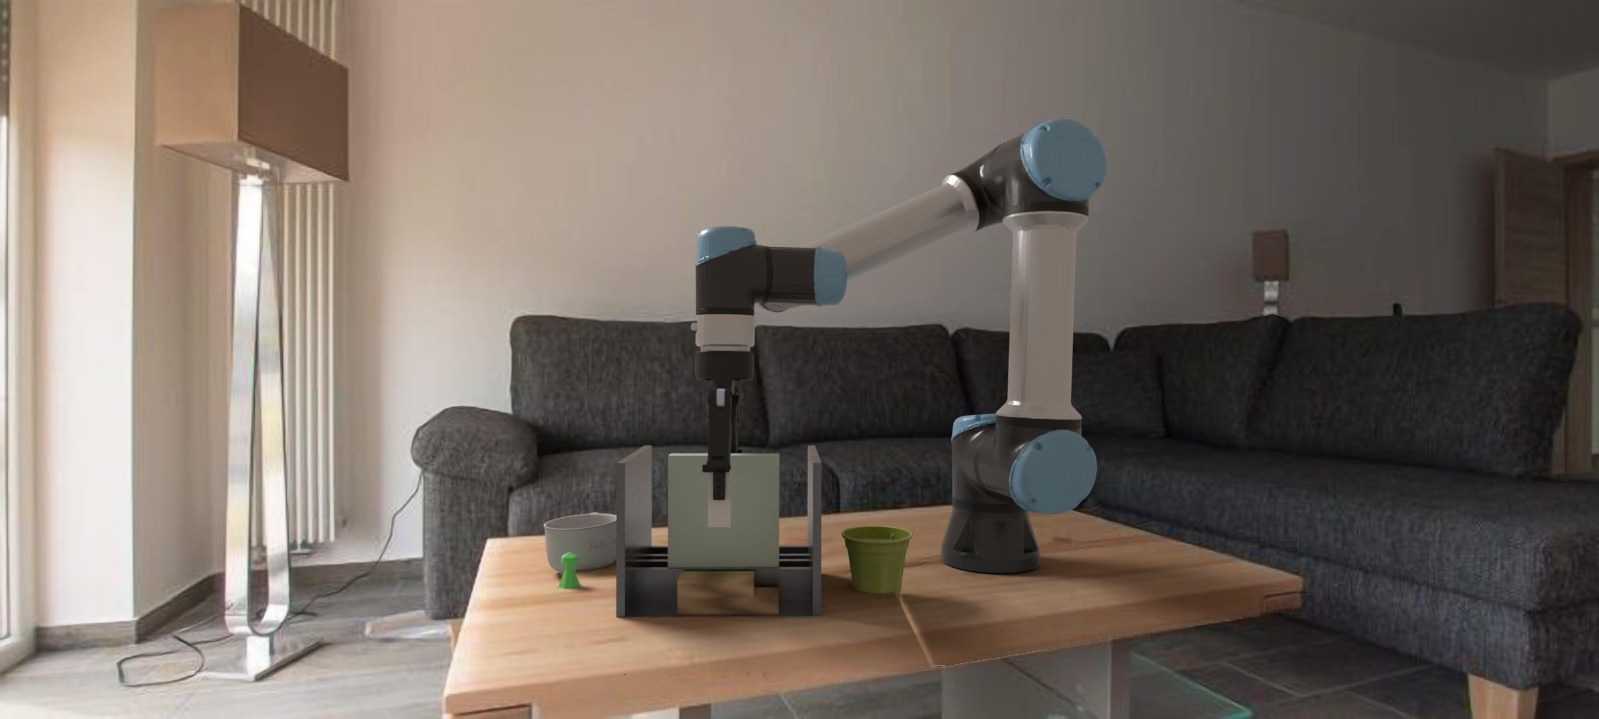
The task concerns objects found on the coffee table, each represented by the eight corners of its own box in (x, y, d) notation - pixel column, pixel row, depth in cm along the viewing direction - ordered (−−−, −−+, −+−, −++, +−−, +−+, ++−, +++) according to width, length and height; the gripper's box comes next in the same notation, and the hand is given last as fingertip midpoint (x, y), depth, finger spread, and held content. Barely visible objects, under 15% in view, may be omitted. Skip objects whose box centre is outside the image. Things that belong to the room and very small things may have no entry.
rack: (814, 583, 115) (814, 445, 115) (821, 628, 96) (821, 462, 96) (644, 583, 115) (644, 445, 115) (616, 629, 95) (616, 463, 95)
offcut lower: (778, 603, 101) (778, 587, 101) (778, 613, 97) (778, 596, 97) (681, 603, 100) (681, 587, 100) (677, 614, 96) (677, 597, 96)
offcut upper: (754, 587, 101) (754, 571, 101) (753, 596, 97) (753, 580, 97) (681, 587, 100) (681, 571, 100) (677, 597, 96) (677, 580, 96)
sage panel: (779, 592, 105) (779, 453, 105) (778, 598, 103) (779, 455, 103) (670, 592, 105) (670, 453, 105) (667, 598, 103) (668, 455, 103)
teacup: (599, 584, 115) (599, 527, 115) (529, 580, 117) (529, 524, 117) (638, 560, 128) (638, 509, 128) (575, 557, 130) (575, 507, 130)
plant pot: (903, 611, 102) (903, 542, 102) (832, 603, 106) (832, 537, 106) (919, 592, 111) (919, 528, 111) (852, 585, 114) (852, 523, 114)
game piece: (547, 595, 109) (548, 550, 109) (579, 590, 112) (579, 546, 112) (557, 603, 106) (558, 557, 106) (590, 598, 108) (590, 552, 108)
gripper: (704, 350, 116) (703, 499, 116) (683, 347, 92) (682, 536, 91) (757, 350, 117) (756, 499, 117) (750, 348, 92) (748, 536, 92)
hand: (723, 516), depth 104 cm, fingers open, 13 cm apart
